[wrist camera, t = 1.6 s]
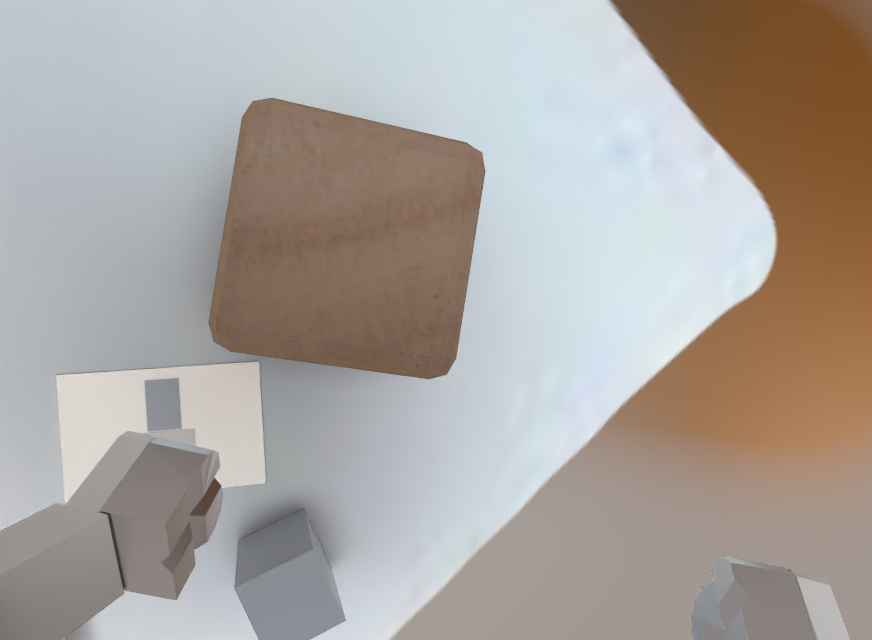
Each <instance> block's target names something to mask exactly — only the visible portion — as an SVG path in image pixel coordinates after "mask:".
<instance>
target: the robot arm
mask: <svg viewBox="0 0 872 640" xmlns="http://www.w3.org/2000/svg"><path fill="white" fill-rule="evenodd" d="M219 468H220V461H219V452H216V451H214V450H210V449H206V448H202V447H197V446H193V445H189V444H185V443H181V442H176V441H172V440H168V439H164V438H159V437H154V436H149V435H145V434H140V433H136V432H132V431H127V432H125V433H123V434H122V435H120V436H119V437H118V438H117V439H116V440H115V442H114V443H113V444H112V445H111V447H110V448H109V449H108V451H107V452H106V453H105V454H104V456H103V457H102V458H101V459H100V461H99V462H98V463H97V465H96V466H95V467H94V468H93V470H92V471H91V472H90V473H89V475H88V476H87V477H86V479H85V480H84V481H83V482H82V484H81V485H80V486H79V488H78V489H77V490H76V491H75V493H74V494H73V495H72V496H71V498H70V499H69V500H68V502H67V503H66V504H65V505H63V504H57V503H55V504H53V505H51V506H49V507H47V508H45V509H43V510H41V511H39V512H37V513H35V514H33V515H31V516H29V517H27V518H25V519H23V520H21V521H19V522H17V523H15V524H13V525H11V526H9V527H7V528H5V529H3V530H1V531H0V640H62V639H64V638H65V637H66V636H68V635H69V634H70V633H72V632H73V631H74V630H76V629H77V628H78V627H80V626H81V625H82V624H84V623H85V622H86V621H88V620H89V619H90V618H92V617H93V616H94V615H96V614H97V613H99V612H100V611H101V610H103V609H104V608H105V607H107V606H108V605H109V604H111V603H112V602H113V601H115V600H116V599H117V598H119V597H120V596H121V595H123V594H124V590H125V591H131V592H136V593H141V594H146V595H151V596H157V597H162V598H167V599H172V600H177V598H178V596H179V594H180V592H181V591H182V589H183V587H184V585H185V583H186V581H187V579H188V577H189V576H190V574H191V572H192V570H193V568H194V566H195V557H194V550H195V549H196V548H198V547H200V546H201V545H203V544H205V543H206V542H208V540H209V538H210V536H211V534H212V532H213V530H214V528H215V525H216V522H217V519H218V516H219V512H220V509H221V501H222V486H221V484H220V483H219V482H218V481H217V480H216V479H215V475H216V473H217V472H218V470H219ZM711 571H712V576H713V581H714V582H712V583H710V584H707V585H705V586H703V587H701V589H700V591H699V593H698V595H697V597H696V599H695V602H694V607H693V613H692V636H693V640H850V638H849V635H848V633H847V630H846V627H845V625H844V622H843V619H842V617H841V614H840V611H839V609H838V606H837V603H836V601H835V598H834V595H833V593H832V590H831V587H830V585H829V582H828V581H827V580H826V579H825V578H824V577H823V576H820V575H816V574H811V573H806V572H801V571H796V570H792V569H786V568H784V567H778V566H773V565H768V564H763V563H758V562H753V561H748V560H743V559H737V558H733V557H728V556H722V557H721V558H719V559H717V561H716V563H715V564H714V566H713V568H712V569H711Z"/></svg>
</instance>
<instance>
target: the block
mask: <svg viewBox="0 0 872 640" xmlns="http://www.w3.org/2000/svg"><path fill="white" fill-rule="evenodd" d="M484 176H485V168H484V162H483V155H482V152H480V151H479V150H477V149H475V148H473V147H472V146H471V145H469V144H468V143H466V142H462V141H457V140H453V139H448V138H444V137H440V136H435V135H431V134H427V133H422V132H418V131H414V130H409V129H405V128H401V127H396V126H392V125H388V124H383V123H379V122H375V121H370V120H366V119H362V118H357V117H353V116H349V115H344V114H340V113H336V112H331V111H327V110H323V109H318V108H314V107H310V106H305V105H301V104H297V103H292V102H288V101H284V100H279V99H275V98H269V99H263V100H257V101H253V102H252V103H251V105H250V106H249V108H248V109H247V111H246V112H245V114H244V115H243V117H242V121H241V127H240V133H239V139H238V146H237V152H236V158H235V164H234V170H233V176H232V182H231V188H230V195H229V201H228V207H227V213H226V219H225V225H224V231H223V238H222V244H221V250H220V256H219V262H218V268H217V274H216V280H215V287H214V293H213V299H212V305H211V311H210V317H209V325H210V329H211V333H212V337H213V341H214V342H216V343H217V344H219V345H221V346H223V347H224V348H226V349H228V350H230V351H231V352H239V353H246V354H253V355H260V356H267V357H274V358H282V359H289V360H296V361H303V362H310V363H317V364H324V365H332V366H339V367H346V368H353V369H360V370H367V371H375V372H382V373H389V374H396V375H403V376H410V377H418V378H425V379H432V378H435V377H439V376H443V375H447V373H448V371H449V370H450V368H451V366H452V365H453V363H454V361H455V359H456V355H457V349H458V342H459V336H460V329H461V323H462V317H463V310H464V304H465V297H466V291H467V285H468V278H469V272H470V266H471V259H472V253H473V246H474V240H475V234H476V227H477V221H478V215H479V208H480V202H481V195H482V189H483V183H484Z"/></svg>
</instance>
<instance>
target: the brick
mask: <svg viewBox="0 0 872 640" xmlns="http://www.w3.org/2000/svg"><path fill="white" fill-rule="evenodd" d="M235 590H236V592H237V594H238V596H239V599H240V601H241V603H242V605H243V607H244V609H245V611H246V614H247V616H248V618H249V620H250V622H251V624H252V626H253V628H254V631H255V633H256V635H257V637H258V639H259V640H310V639H312V638H314V637H315V636H317V635H319V634H321V633H323V632H325V631H327V630H329V629H331V628H332V627H334V626H336V625H338V624H340V623H342V622H344V621H346V620H345V616H344V613H343V609H342V605H341V602H340V598H339V595H338V591H337V587H336V584H335V580H334V577H333V573H332V569H331V567H330V565H329V562H328V560H327V558H326V556H325V553H324V551H323V549H322V547H321V545H320V542H319V540H318V538H317V536H316V533H315V531H314V529H313V527H312V525H311V522H310V520H309V518H308V516H307V513H306V511H305V509H302V510H300V511H298V512H296V513H294V514H292V515H289V516H287V517H285V518H283V519H281V520H279V521H277V522H275V523H273V524H271V525H269V526H267V527H265V528H263V529H261V530H259V531H256V532H254V533H252V534H250V535H248V536H246V537H244V538H242V539H240V540H239V541H238V553H237V565H236V578H235Z"/></svg>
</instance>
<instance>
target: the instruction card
mask: <svg viewBox="0 0 872 640" xmlns="http://www.w3.org/2000/svg"><path fill="white" fill-rule="evenodd" d="M56 383H57V398H58V412H59V427H60V442H61V457H62V472H63V487H64V501H65V504H66V503H67V502H68V500H69V499H70V498H71V496H72V495H73V494H74V493H75V491H76V490H77V489H78V488H79V486H80V485H81V484H82V482H83V481H84V480H85V479H86V477H87V476H88V475H89V473H90V472H91V471H92V470H93V468H94V467H95V466H96V465H97V463H98V462H99V461H100V459H101V458H102V457H103V456H104V454H105V453H106V452H107V451H108V449H109V448H110V447H111V445H112V444H113V443H114V442H115V440H116V439H117V438H118V437H119V436H120V435H122V434H123V433H125V432H127V431H132V432H136V433H140V434H145V435H149V436H154V437H159V438H164V439H168V440H172V441H176V442H181V443H185V444H189V445H193V446H197V447H202V448H206V449H210V450H214V451H216V452H219V461H220V468H219V470H218V472H217V473H216V475H215V479H216V480H217V481H218V482H219V483H220V484H221V486H222V488H228V487H237V486H246V485H255V484H264V483H266V473H265V456H264V438H263V421H262V403H261V386H260V369H259V361H255V362H240V363H226V364H211V365H196V366H182V367H167V368H152V369H137V370H123V371H108V372H93V373H79V374H64V375H56Z"/></svg>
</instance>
